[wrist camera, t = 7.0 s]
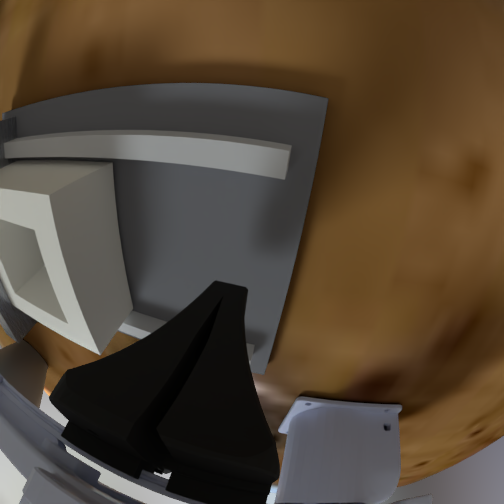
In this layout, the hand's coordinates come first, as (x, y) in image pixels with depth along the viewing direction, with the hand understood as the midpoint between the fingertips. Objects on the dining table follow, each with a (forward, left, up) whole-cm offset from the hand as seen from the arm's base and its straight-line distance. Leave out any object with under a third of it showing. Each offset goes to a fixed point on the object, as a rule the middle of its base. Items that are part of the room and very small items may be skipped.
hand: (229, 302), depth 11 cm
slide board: (+8, 0, -3) cm, 8 cm away
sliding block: (+11, 0, -2) cm, 11 cm away
